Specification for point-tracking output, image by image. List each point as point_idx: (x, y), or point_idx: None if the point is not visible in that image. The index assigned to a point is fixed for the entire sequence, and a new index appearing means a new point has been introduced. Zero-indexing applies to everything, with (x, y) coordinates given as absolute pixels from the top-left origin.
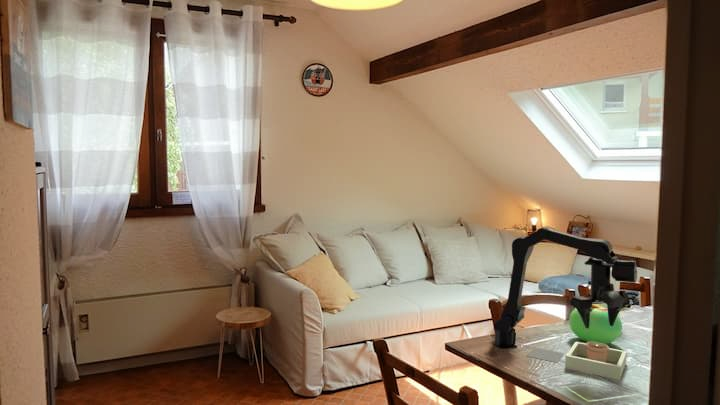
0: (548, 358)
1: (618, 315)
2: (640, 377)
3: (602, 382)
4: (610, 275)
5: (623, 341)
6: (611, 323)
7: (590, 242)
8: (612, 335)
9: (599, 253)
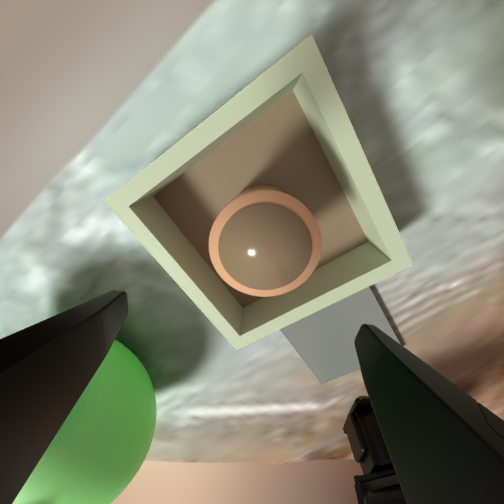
0: (362, 317)
1: None
2: (173, 61)
3: (374, 88)
4: None
5: (6, 334)
6: (115, 309)
7: None
8: None
9: None
